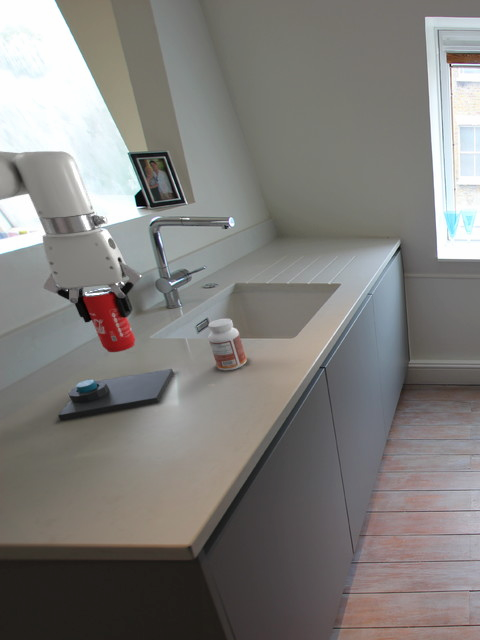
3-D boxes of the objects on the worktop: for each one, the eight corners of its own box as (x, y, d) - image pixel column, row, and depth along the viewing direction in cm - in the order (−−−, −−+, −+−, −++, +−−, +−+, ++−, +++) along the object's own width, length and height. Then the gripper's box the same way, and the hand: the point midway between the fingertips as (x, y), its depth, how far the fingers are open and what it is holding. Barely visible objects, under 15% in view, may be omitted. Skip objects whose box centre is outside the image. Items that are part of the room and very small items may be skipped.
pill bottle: (237, 356, 109) (225, 315, 105) (252, 362, 106) (241, 320, 102) (212, 367, 104) (198, 324, 100) (227, 373, 102) (214, 330, 97)
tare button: (76, 395, 89) (73, 388, 88) (82, 387, 92) (79, 381, 91) (94, 391, 90) (91, 385, 89) (100, 384, 93) (97, 378, 92)
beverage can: (135, 349, 89) (113, 293, 84) (102, 355, 87) (78, 298, 82) (138, 339, 93) (117, 285, 88) (107, 345, 91) (84, 290, 86)
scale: (60, 421, 85) (54, 408, 84) (88, 388, 96) (82, 376, 95) (158, 403, 91) (153, 390, 90) (174, 373, 102) (170, 362, 101)
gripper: (135, 217, 86) (164, 304, 93) (21, 225, 80) (63, 317, 88) (121, 224, 80) (155, 317, 87) (-3, 233, 74) (44, 331, 81)
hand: (108, 316), depth 87 cm, fingers closed on beverage can, 5 cm apart
